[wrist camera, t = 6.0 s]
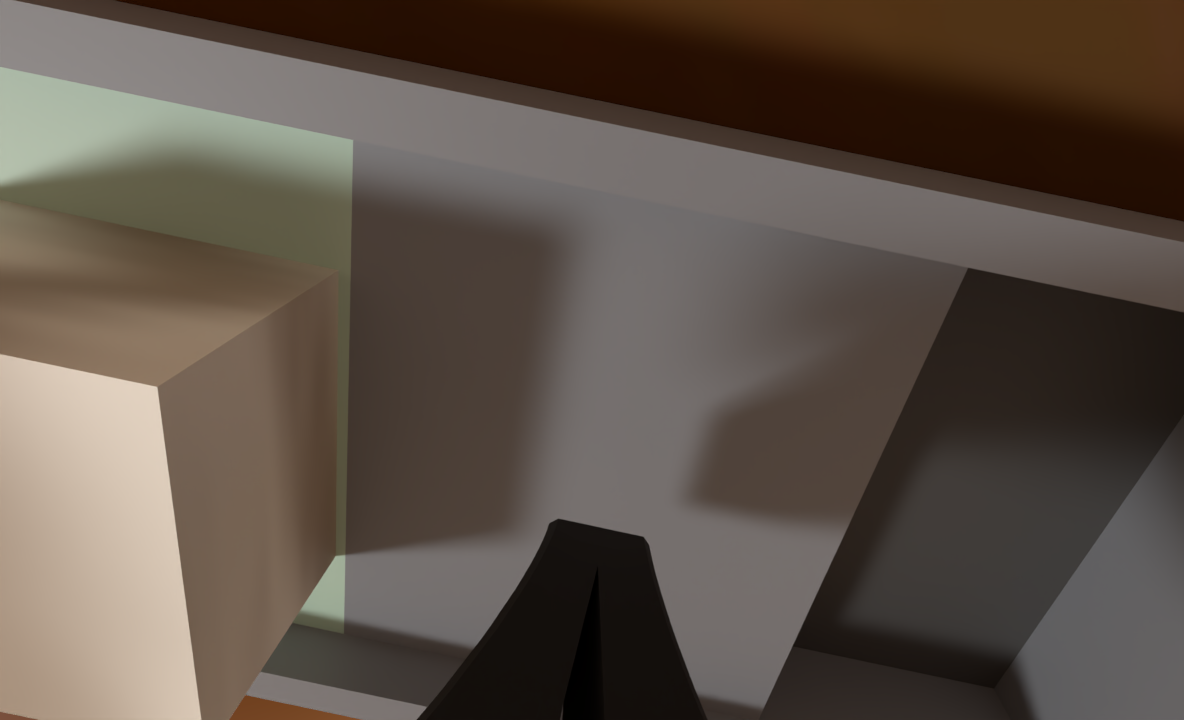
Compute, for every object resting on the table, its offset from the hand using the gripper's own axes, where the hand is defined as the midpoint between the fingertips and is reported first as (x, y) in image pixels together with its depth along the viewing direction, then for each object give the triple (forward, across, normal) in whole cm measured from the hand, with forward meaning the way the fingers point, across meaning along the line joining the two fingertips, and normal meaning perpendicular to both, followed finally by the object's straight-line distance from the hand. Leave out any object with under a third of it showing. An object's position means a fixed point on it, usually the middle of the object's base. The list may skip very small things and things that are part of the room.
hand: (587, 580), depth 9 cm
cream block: (+2, +8, 0) cm, 8 cm away
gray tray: (+5, +4, 0) cm, 6 cm away
